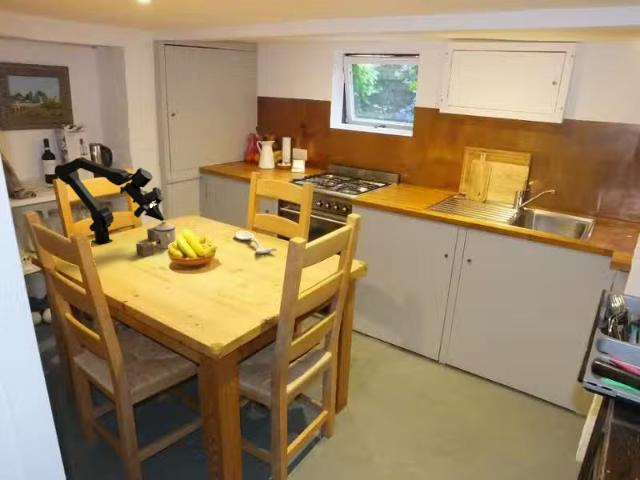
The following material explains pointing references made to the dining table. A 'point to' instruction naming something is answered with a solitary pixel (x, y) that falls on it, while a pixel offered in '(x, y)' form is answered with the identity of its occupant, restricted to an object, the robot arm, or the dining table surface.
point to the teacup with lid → (164, 234)
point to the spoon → (249, 236)
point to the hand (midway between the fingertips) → (163, 220)
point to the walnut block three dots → (151, 234)
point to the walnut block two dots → (145, 249)
